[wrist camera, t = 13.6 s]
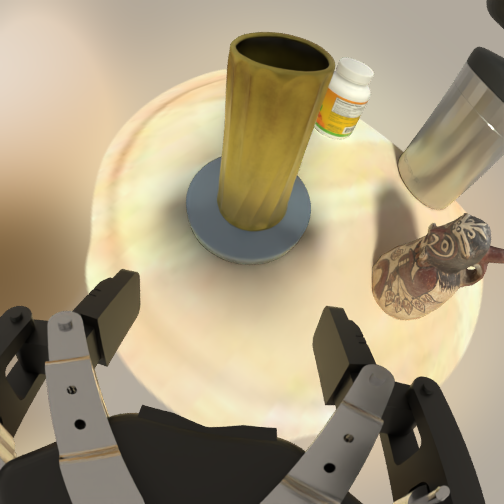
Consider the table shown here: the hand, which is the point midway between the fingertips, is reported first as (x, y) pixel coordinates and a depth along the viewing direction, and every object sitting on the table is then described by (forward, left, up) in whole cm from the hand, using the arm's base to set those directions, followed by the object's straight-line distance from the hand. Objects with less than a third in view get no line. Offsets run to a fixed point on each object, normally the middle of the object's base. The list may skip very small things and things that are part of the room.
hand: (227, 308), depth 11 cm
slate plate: (-3, -11, -10) cm, 15 cm away
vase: (-3, -11, -9) cm, 14 cm away
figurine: (-17, -2, -10) cm, 20 cm away
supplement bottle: (-15, -23, -10) cm, 29 cm away
